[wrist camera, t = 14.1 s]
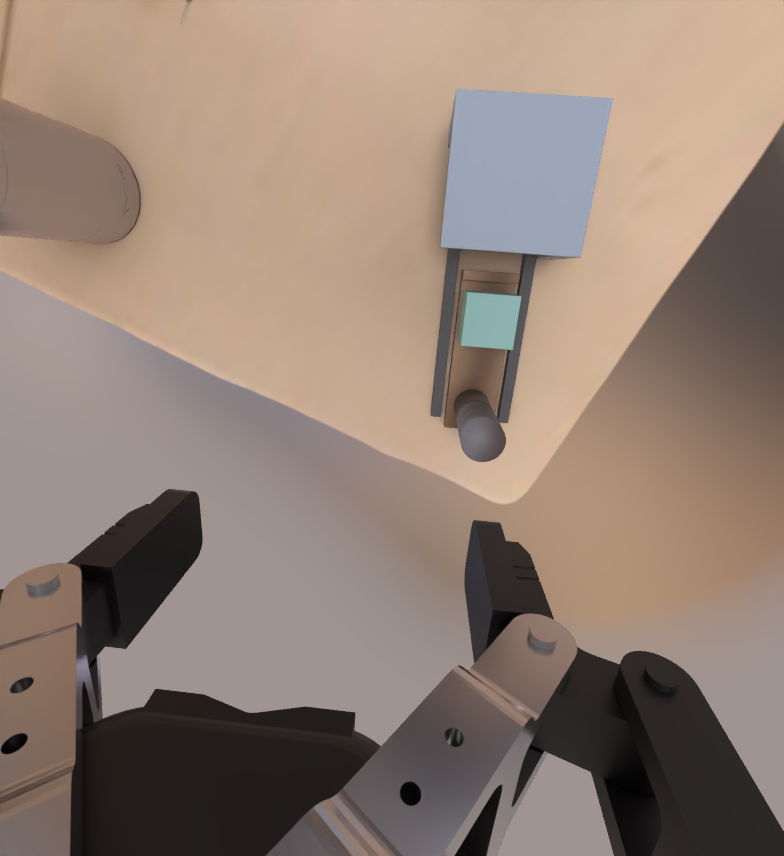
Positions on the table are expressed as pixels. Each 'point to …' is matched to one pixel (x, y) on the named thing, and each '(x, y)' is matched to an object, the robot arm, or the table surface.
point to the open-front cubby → (522, 172)
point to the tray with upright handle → (477, 378)
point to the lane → (445, 328)
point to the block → (488, 319)
